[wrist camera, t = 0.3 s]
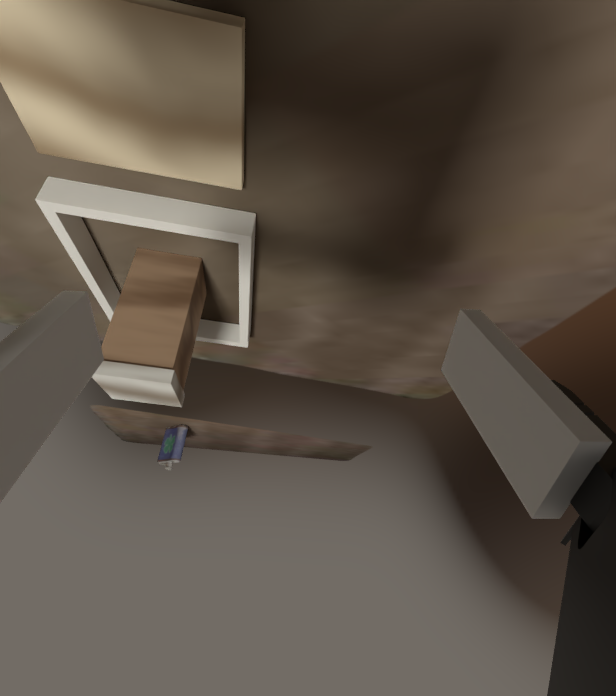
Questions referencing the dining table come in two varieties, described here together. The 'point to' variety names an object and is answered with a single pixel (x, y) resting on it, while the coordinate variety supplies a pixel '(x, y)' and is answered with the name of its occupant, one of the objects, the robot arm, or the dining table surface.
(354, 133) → the dining table surface
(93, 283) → the white rectangular frame
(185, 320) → the canister
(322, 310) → the dining table surface
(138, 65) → the board
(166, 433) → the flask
